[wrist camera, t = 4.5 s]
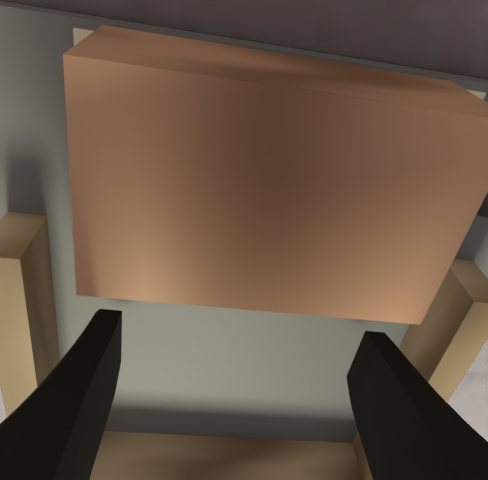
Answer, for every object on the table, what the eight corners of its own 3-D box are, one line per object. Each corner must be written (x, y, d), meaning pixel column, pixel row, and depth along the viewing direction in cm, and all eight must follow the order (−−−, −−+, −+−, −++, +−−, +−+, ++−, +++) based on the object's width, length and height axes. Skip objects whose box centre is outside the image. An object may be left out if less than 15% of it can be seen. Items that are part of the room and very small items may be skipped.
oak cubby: (472, 260, 14) (508, 304, 12) (368, 457, 19) (382, 506, 18) (7, 211, 12) (-26, 255, 10) (40, 443, 18) (22, 495, 16)
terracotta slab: (451, 80, 11) (521, 123, 8) (382, 252, 13) (420, 324, 11) (102, 25, 10) (62, 53, 7) (104, 223, 12) (76, 295, 10)
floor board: (591, 96, 12) (608, 103, 11) (392, 446, 20) (396, 459, 20) (-25, -4, 10) (-39, -1, 9) (38, 429, 18) (33, 443, 18)
